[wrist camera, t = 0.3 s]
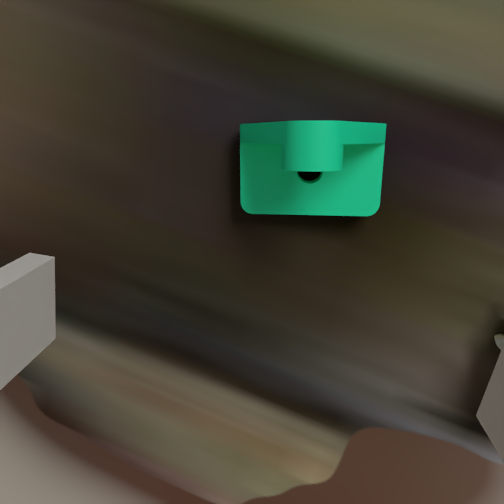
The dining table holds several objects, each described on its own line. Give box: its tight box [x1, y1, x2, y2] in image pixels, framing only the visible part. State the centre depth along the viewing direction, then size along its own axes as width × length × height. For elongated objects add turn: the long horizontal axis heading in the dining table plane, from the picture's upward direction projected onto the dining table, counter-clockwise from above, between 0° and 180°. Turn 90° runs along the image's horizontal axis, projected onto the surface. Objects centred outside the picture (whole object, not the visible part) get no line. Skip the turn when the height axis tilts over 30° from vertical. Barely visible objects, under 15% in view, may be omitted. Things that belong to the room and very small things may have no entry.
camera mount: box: [240, 121, 386, 216], centre depth 33 cm, size 12×8×10 cm, turn 90°
